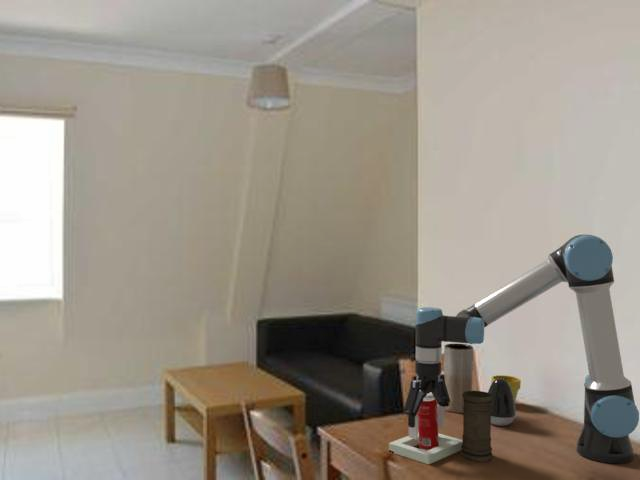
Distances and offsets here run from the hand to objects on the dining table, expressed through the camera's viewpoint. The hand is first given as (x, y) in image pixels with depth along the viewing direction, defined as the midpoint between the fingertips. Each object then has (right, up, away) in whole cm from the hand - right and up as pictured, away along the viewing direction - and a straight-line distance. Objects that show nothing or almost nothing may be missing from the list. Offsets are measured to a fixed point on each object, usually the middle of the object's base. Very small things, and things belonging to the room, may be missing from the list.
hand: (426, 432), depth 195 cm
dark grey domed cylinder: (+29, -5, +27) cm, 39 cm away
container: (+14, -6, -4) cm, 15 cm away
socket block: (0, -5, 0) cm, 5 cm away
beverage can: (0, -5, +2) cm, 6 cm away
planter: (+18, -4, +43) cm, 47 cm away
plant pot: (+37, -4, +49) cm, 62 cm away
